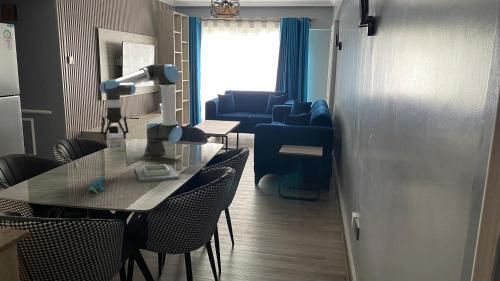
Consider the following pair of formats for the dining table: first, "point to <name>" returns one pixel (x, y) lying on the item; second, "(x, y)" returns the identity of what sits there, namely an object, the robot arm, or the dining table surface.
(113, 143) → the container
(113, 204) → the dining table surface
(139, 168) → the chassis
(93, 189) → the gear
